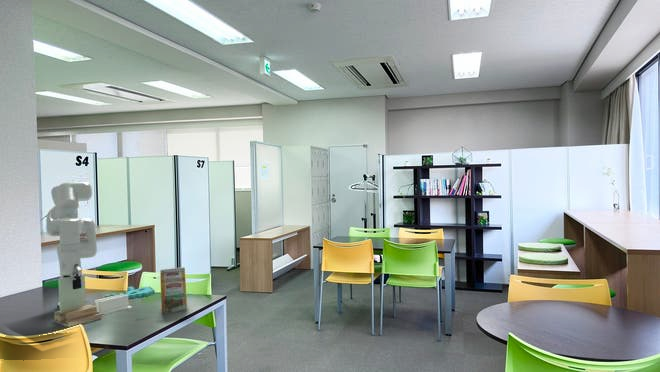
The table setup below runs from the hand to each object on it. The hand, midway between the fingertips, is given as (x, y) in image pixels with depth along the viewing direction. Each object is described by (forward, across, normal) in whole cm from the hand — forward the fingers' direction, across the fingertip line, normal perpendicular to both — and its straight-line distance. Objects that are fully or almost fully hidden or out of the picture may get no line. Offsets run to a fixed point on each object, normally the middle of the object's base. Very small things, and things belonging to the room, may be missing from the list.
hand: (72, 287), depth 186 cm
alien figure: (+16, -23, +40) cm, 48 cm away
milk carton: (+15, +24, +34) cm, 44 cm away
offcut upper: (+11, +6, 0) cm, 13 cm away
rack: (+15, +5, 0) cm, 16 cm away
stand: (+15, +2, +16) cm, 22 cm away
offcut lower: (+13, +6, 0) cm, 15 cm away
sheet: (+13, 0, 0) cm, 13 cm away
